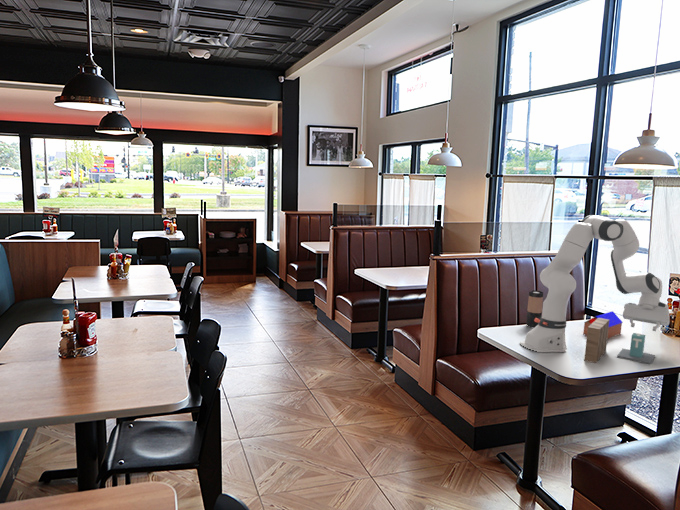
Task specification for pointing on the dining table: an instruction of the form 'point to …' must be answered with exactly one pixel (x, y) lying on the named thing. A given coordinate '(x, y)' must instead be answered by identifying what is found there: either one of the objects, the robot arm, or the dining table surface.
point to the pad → (645, 358)
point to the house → (613, 323)
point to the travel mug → (534, 307)
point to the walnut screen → (596, 340)
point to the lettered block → (637, 345)
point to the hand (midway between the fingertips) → (643, 328)
